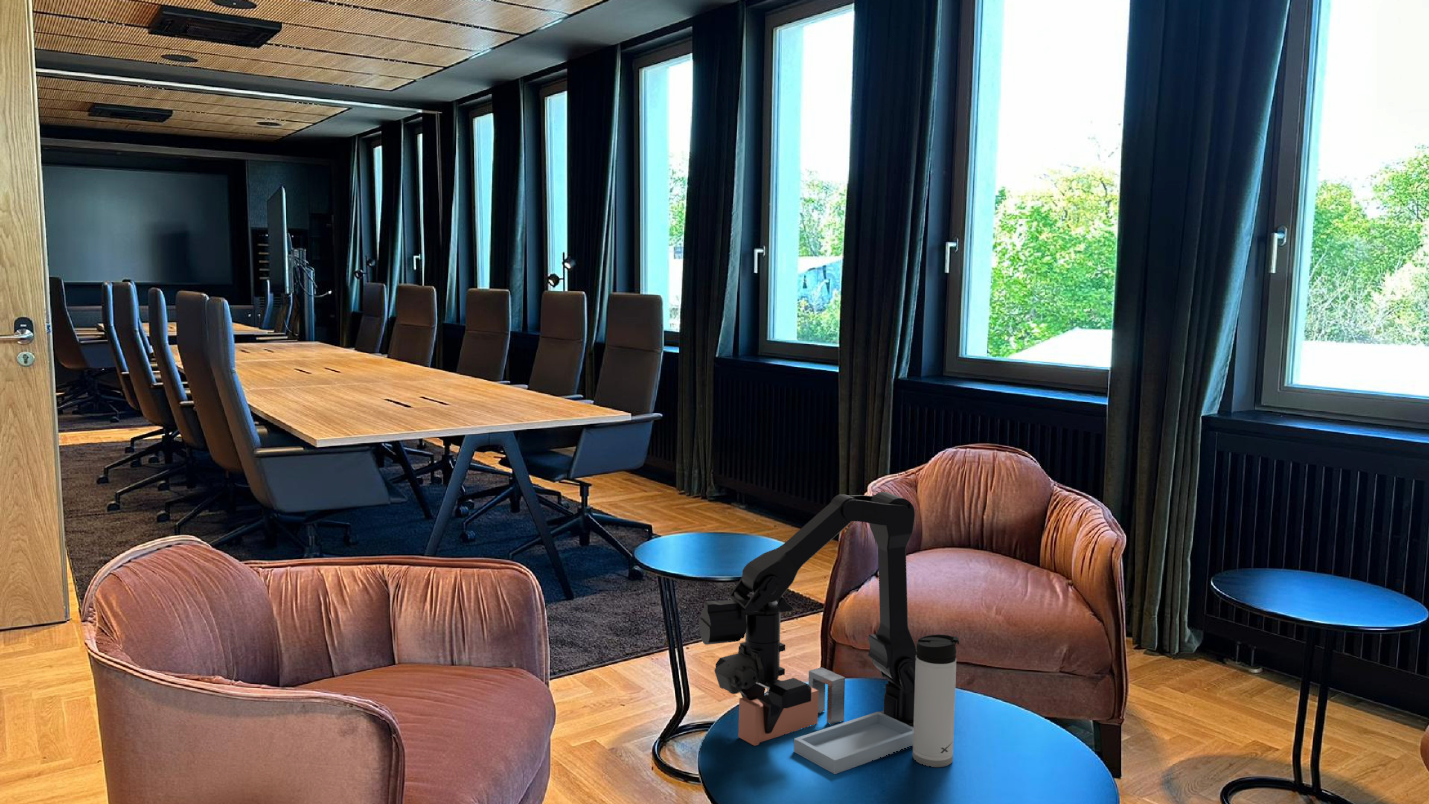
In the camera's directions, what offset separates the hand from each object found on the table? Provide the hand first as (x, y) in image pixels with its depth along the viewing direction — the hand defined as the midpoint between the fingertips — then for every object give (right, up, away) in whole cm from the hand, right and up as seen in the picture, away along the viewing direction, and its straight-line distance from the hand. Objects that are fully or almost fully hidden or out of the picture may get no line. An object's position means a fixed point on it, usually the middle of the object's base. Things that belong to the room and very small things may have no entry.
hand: (761, 729), depth 169 cm
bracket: (+12, -1, +9) cm, 15 cm away
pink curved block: (+4, -1, +3) cm, 5 cm away
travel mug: (+27, -3, -7) cm, 28 cm away
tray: (+16, -2, -3) cm, 16 cm away
